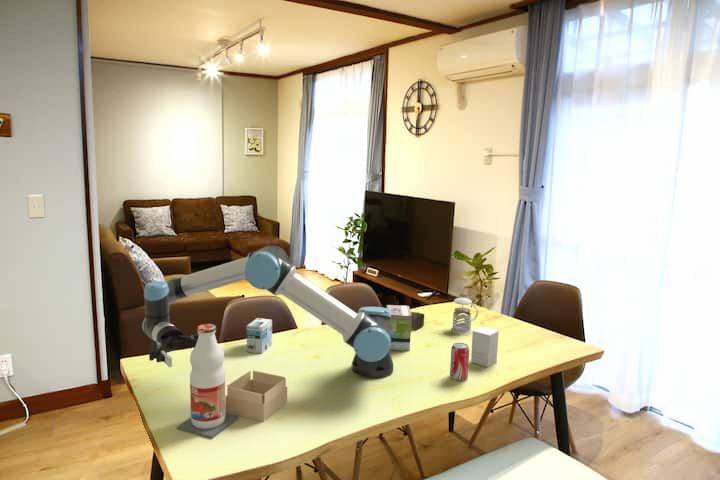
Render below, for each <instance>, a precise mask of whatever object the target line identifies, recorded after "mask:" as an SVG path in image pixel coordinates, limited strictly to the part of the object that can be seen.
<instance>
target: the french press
mask: <svg viewBox="0 0 720 480" xmlns="http://www.w3.org/2000/svg"><path fill="white" fill-rule="evenodd" d="M461 280H463V282H465V281H466V280H467V277H466V276H463V277H462V278H461ZM462 293H463V294H462V296H461V297H456V298H455V299H454V300H453V302H454V304H458V305H462V307H456V308H454V309H453V310H454V311H453V316H452V318H453V319H452V327H451V328H450V329H451V330H450V332H452V331H453V332H452V333H454V332H455V333H454V334H457V333H459V334H458V335H469V334H473V330H472V329H471V326H472V322H473V321H475V320H476V319H477V318H478V316H479V315H478V313H479V311H478V309H477V307H476V305H474V304H472V303H473V301H472V300H471V299H469V298H467V297H464V295H465V289H463V291H462ZM464 305H467V306H468V305H470V308H471V309H472V308H473V307H474V308H475V310H476V314H475V315H474V317H473V318H472V314H471V309H470V308H466V307H464Z"/></svg>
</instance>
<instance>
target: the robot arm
mask: <svg viewBox="0 0 720 480" xmlns="http://www.w3.org/2000/svg"><path fill="white" fill-rule="evenodd" d="M245 280H247V283H249V284H250V285H251V286H252V287H254V288H255V289H258V290H265V291H268V292H269V293H270V294H272V295H273V296H279V295H281V296H283V297H285V298H286V299H288V300H289V301H291V302H293V303H294V304H296V305H297V306H298V307H300V308H301V309H303V310H304V311H306V312H307V313H309V314H311V315H312V316H313V317H314V318H316V319H318V320H319V321H320V322H323V323H324V324H325V325H326V326H328V327H330V328H331V329H333V330H334V331H336V332H338V334H340V335H342V338H343V343H345V344H347V345H348V346H349V347H351V348H353V349H354V356H353V359H352V361H351V371H352V372H353V373H354V374H355V375H357V376H360V377H363V378H368V379H370V378H371V379H379V378H385V377H389V376H390V375H392V373H394V366H395V365H394V361H393V358H392V355H391V352H390V351H391V350H389V348H390V345H391V338H390V318H391V313H390V310H389V309H387V308H386V307H381V306H363V307H360V308H359V309H358V310H357V312H356V311H354V310H353V309H351V308H350V307H348V306H347V305H345V304H344V303H342V302H341V301H340V300H338V299H336V298H335V297H334V296H333V295H330V294H329V293H328V292H326V291H325V290H324V289H321V288H320V287H318V285H316V284H314V283H313V282H311V281H310V280H309V279H307V278H305V277H304V276H302V275H301V274H300V273H298V271H297V269H296V265H295V264H294V263H291V262H290V261H289V257H288V254H287V252H286V251H285V250H284V248H281V247H280V246H277V245H265V246H264V247H262V248H259V249H258V250H255V251H252V252H249V253H248V254H247V256H245V257H242V258H239V259H235V260H232V261H230V262H225V263H221V264H220V265H216V266H212V267H210V268H206V269H203V270H198V271H196V272H194V273H190V274H186V275H183V276H179V277H173V278H171V279H168V280H167V281H157V280H156V281H152V282H147V283H146V284H145V285H144V292H143V297H144V298H143V299H144V310H145V311H144V313H145V314H144V315H145V316H144V319H143V320H142V325H141V328H142V331H143V332H144V334H145V335H146V336H147V337H148V338H149V339H151V340H153V341H151V347H150V349H149V352H148V357H149V358H148V359H149V361H150V362H151V361H154V360H156V363H162V362H163V363H164V365H166V366H167V367H168V368H172V367H173V361H172V359H173V358H172V356H170V355H169V353H170V352H171V351H173V352H174V351H175V350H177V349H182V348H183V349H190V348H195V346H196V343H197V340H198V336H199V334H198V333H193V332H192V333H191V334H190V335H189V336H188V335H184V333H183V331H182V330H180V328H178V327H176V326H175V325H174V324H172V323H171V322H170V305H172V304H174V303H175V302H177V301H178V300H182V299H184V298H189V297H191V296H194V295H197V294H201V293H205V292H208V291H211V290H214V289H217V288H221V287H225V286H228V285H231V284H234V283H239V282H242V281H245Z"/></svg>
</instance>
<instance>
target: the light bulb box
mask: <svg viewBox="0 0 720 480" xmlns="http://www.w3.org/2000/svg"><path fill="white" fill-rule="evenodd" d="M272 345H273V320H272V319H268V318H260V317H257V318H255V319H254V320H253V321H251V322H250V323H248V324H247V325H246V352H247V353H255V354H263V353H265V351H267V350H268V349H269V348H270V347H271V346H272Z"/></svg>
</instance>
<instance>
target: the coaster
mask: <svg viewBox="0 0 720 480" xmlns="http://www.w3.org/2000/svg"><path fill="white" fill-rule="evenodd" d="M239 416H240V415H236V414H232V413H228V412H226V416H225V421H224V422H223V423H222V424H221V425H219V426H217V427H214V428H210V429H200V428H196V427H194V426H193V425H192V422H191V417H189V418H188V419H186V420H185V421H183V422H182V423H180V424H179V425H177V426H176V429H177V430H179V431H183V432H187V433H190V434H194V435H198V436H200V437H205V438H208V439H214V438H215V437H217V436H218V434H220V433H221V432H223V431H224V430H226V429H227V428H228V427H229V426H230V425H232V424H233V423H234V422H236V421H237V420H238V419H239V418H240V417H239Z"/></svg>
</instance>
